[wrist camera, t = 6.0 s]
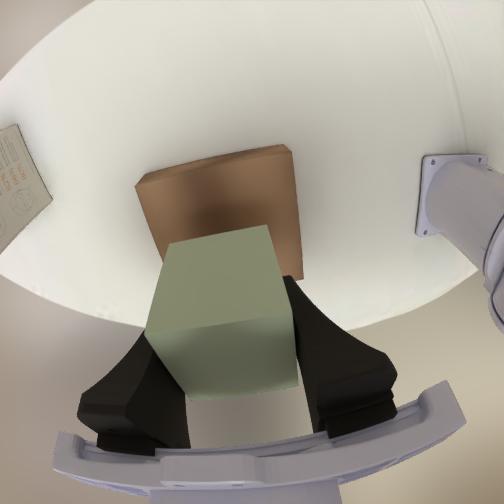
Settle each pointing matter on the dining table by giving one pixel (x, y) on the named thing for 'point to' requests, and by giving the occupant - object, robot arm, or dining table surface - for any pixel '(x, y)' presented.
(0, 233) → the small box
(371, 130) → the dining table surface
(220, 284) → the sage block
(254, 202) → the walnut pad
